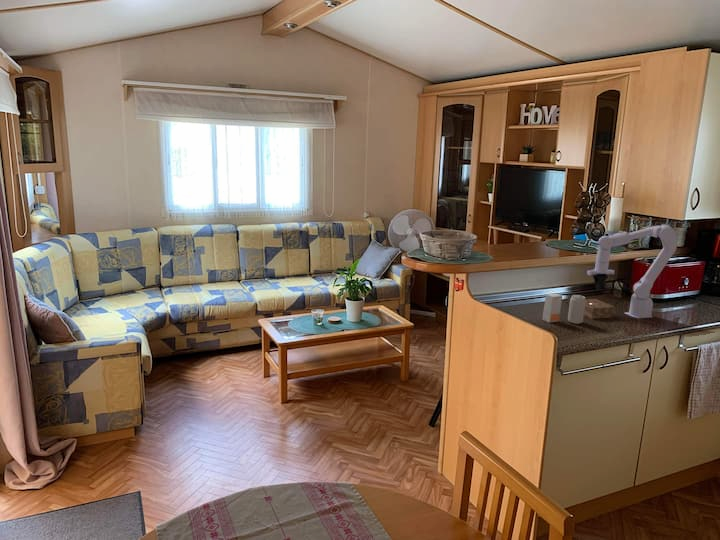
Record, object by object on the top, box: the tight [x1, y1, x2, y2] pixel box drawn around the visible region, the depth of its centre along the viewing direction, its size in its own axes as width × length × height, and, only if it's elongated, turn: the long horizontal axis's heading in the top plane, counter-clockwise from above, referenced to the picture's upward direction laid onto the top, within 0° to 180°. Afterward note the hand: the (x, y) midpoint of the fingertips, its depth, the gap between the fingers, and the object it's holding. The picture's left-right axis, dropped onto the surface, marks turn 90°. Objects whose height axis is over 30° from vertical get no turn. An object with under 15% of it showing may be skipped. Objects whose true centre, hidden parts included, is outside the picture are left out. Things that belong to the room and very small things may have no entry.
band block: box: [584, 298, 616, 320], centre depth 260 cm, size 13×13×5 cm
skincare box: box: [541, 293, 563, 323], centre depth 245 cm, size 6×4×12 cm
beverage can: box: [567, 294, 587, 325], centre depth 245 cm, size 6×6×12 cm
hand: (598, 289), depth 265 cm, fingers closed
